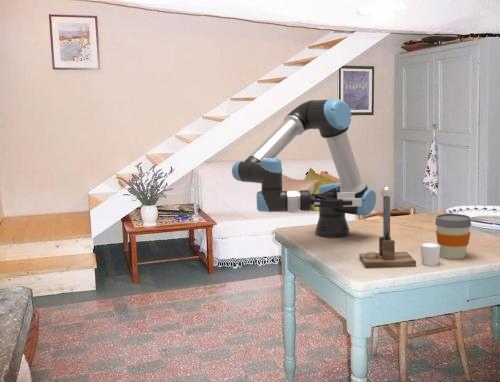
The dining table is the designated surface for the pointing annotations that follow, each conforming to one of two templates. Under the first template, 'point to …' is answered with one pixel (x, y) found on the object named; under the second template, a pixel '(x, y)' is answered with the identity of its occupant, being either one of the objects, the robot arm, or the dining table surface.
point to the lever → (386, 212)
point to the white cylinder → (430, 254)
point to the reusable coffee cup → (453, 235)
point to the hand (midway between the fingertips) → (358, 198)
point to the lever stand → (386, 256)
